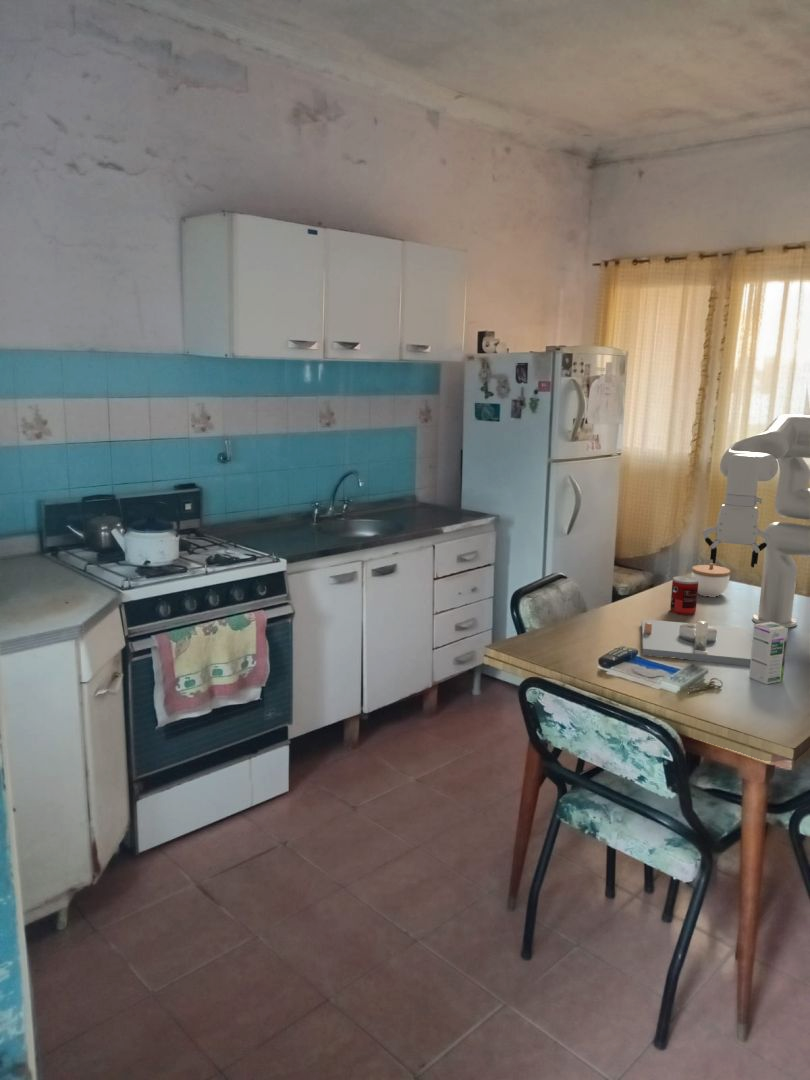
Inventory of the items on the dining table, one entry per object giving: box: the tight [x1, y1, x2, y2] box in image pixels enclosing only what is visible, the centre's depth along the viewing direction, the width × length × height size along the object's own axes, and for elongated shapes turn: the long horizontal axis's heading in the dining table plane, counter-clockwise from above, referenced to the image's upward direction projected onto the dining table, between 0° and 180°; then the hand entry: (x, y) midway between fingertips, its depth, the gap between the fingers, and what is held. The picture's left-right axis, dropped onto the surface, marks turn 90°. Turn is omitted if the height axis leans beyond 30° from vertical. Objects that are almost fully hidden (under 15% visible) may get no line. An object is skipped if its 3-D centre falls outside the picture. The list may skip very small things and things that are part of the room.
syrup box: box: [749, 622, 789, 685], centre depth 208 cm, size 6×6×14 cm
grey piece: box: [679, 620, 717, 651], centre depth 230 cm, size 16×10×8 cm, turn 165°
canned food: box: [670, 575, 698, 616], centre depth 265 cm, size 8×8×11 cm
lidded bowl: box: [691, 562, 731, 598], centre depth 286 cm, size 13×13×11 cm
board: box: [641, 618, 753, 667], centre depth 234 cm, size 28×30×5 cm
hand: (733, 564), depth 220 cm, fingers open, 9 cm apart
